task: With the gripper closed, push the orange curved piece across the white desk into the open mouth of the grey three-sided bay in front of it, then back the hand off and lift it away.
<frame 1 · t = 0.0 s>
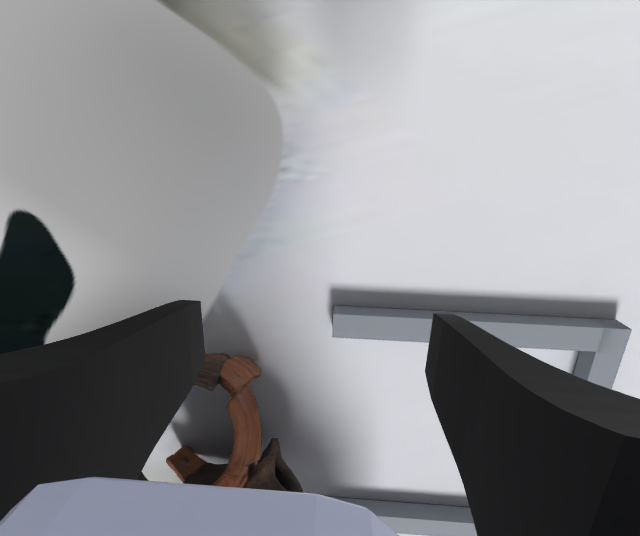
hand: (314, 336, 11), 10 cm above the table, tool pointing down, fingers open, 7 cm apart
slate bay: (440, 427, 24), on the table
orange curved piece: (234, 411, 25), on the table
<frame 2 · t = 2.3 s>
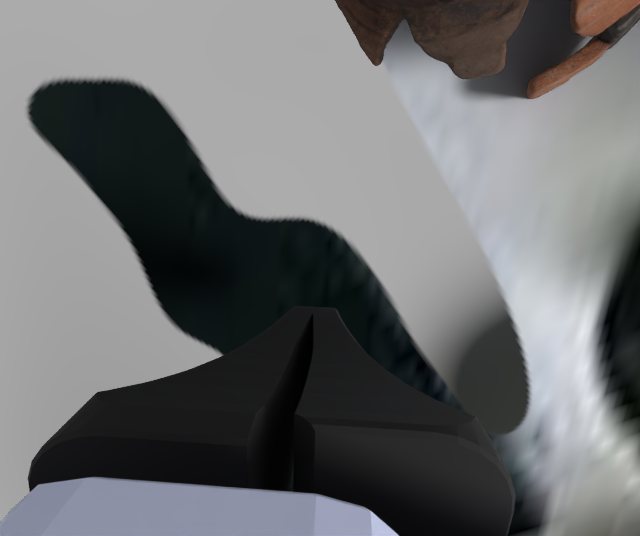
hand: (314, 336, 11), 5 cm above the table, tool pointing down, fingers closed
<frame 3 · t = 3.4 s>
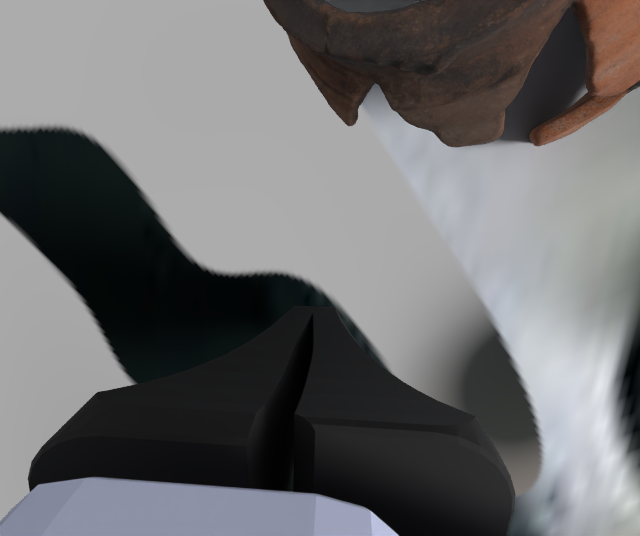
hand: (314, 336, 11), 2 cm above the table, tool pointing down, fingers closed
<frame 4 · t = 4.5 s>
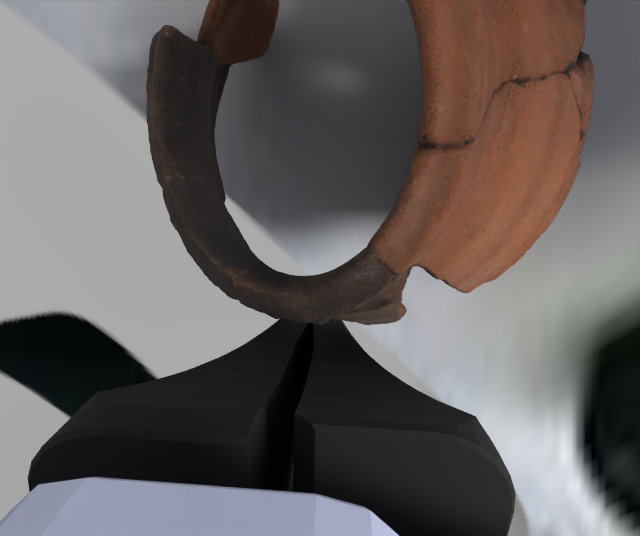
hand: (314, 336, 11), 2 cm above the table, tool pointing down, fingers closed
orange curved piece: (395, 113, 11), on the table, touching gripper
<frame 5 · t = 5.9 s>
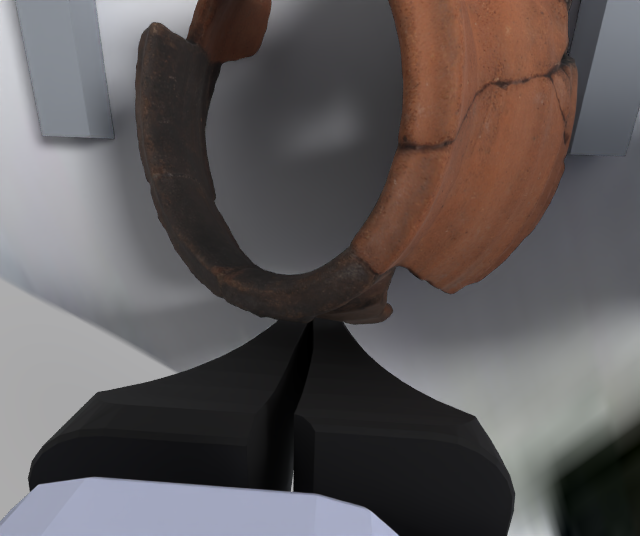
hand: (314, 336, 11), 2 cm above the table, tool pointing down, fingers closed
orange curved piece: (387, 113, 11), on the table, touching gripper
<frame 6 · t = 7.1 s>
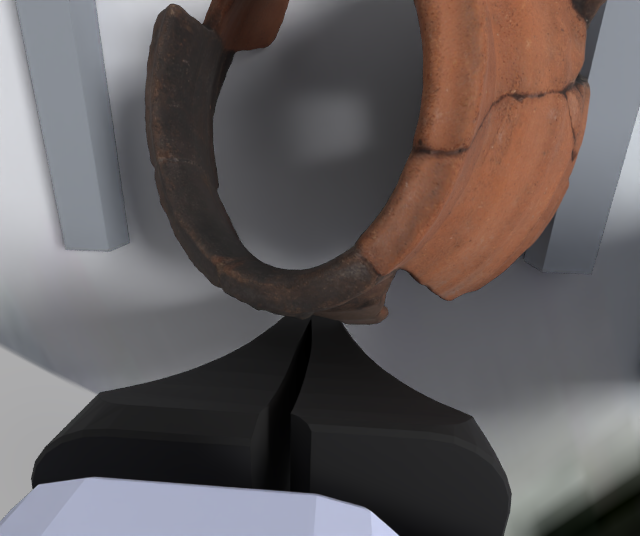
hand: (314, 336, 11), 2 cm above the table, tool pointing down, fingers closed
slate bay: (329, 1, 10), on the table
orange curved piece: (396, 117, 11), on the table, touching gripper
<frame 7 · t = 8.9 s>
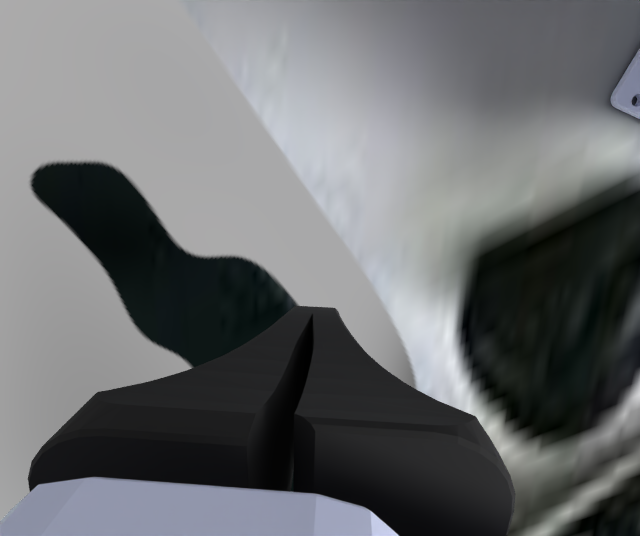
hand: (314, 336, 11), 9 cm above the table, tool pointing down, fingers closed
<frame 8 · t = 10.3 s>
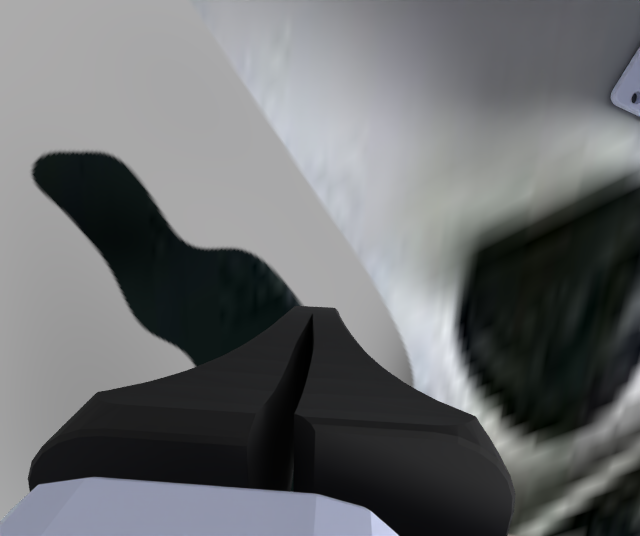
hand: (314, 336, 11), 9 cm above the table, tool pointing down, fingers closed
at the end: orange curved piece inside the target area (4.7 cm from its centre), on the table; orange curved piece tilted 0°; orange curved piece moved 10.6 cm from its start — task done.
